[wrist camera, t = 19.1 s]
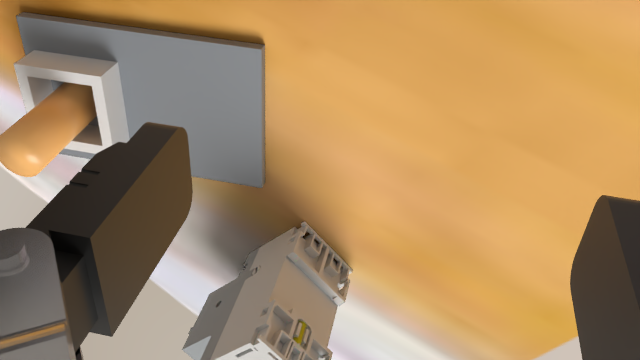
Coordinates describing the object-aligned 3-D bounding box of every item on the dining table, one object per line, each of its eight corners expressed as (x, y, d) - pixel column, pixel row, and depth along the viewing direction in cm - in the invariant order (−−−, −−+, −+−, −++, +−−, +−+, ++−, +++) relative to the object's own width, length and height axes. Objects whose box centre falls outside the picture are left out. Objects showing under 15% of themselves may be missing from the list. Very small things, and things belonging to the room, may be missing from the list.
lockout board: (54, 146, 62) (31, 168, 59) (22, 12, 54) (-7, 28, 50) (265, 182, 59) (252, 207, 55) (264, 44, 51) (250, 64, 47)
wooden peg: (69, 113, 58) (3, 173, 50) (58, 74, 55) (-13, 131, 47) (108, 117, 57) (47, 179, 49) (99, 79, 55) (33, 137, 47)
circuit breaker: (211, 275, 68) (154, 388, 56) (304, 220, 60) (261, 337, 48) (258, 317, 70) (212, 434, 58) (352, 269, 63) (322, 392, 51)
